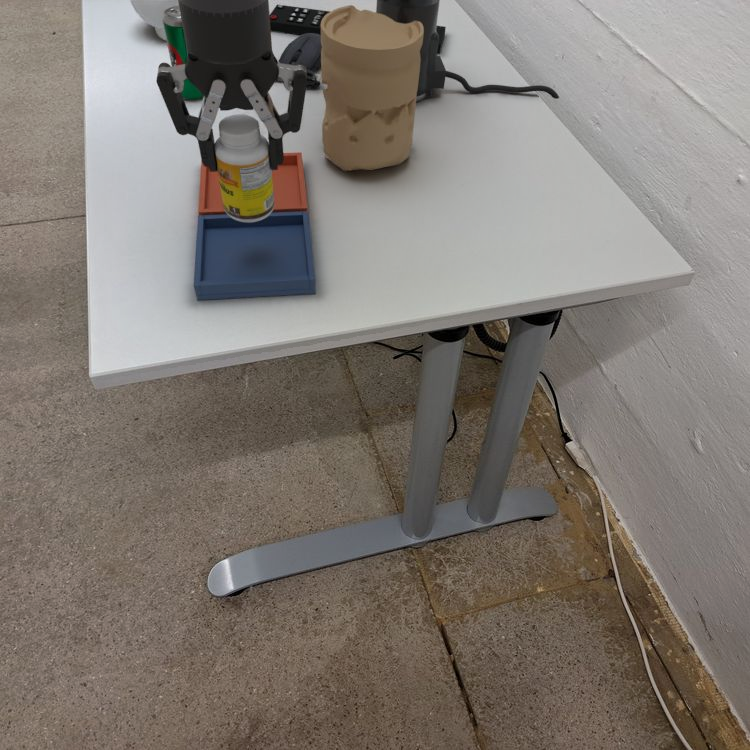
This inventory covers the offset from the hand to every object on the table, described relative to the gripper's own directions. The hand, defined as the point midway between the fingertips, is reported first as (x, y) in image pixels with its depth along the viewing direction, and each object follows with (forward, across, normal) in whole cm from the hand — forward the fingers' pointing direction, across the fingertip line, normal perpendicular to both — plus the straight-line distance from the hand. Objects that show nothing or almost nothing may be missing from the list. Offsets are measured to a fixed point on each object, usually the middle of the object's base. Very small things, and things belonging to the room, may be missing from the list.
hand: (244, 166), depth 67 cm
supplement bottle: (+6, 0, 0) cm, 6 cm away
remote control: (+13, +19, +61) cm, 65 cm away
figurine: (+13, -14, +62) cm, 65 cm away
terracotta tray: (+13, 0, +13) cm, 18 cm away
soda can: (+13, -9, +40) cm, 43 cm away
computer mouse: (+13, +9, +48) cm, 51 cm away
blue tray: (+13, 0, 0) cm, 13 cm away
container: (+13, +16, +21) cm, 29 cm away
